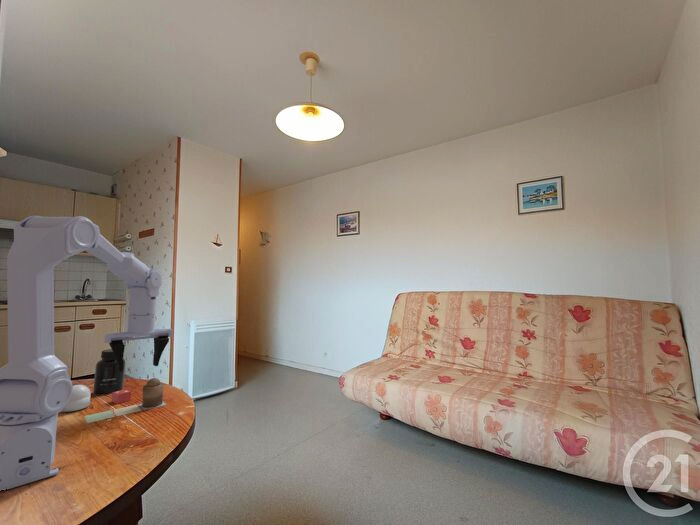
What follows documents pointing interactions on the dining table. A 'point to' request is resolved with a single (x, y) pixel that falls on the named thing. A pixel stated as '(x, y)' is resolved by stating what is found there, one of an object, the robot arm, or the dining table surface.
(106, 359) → the supplement bottle
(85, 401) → the dome
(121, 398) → the red die
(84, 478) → the dining table surface
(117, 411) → the game board
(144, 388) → the pawn
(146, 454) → the dining table surface
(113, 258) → the robot arm
